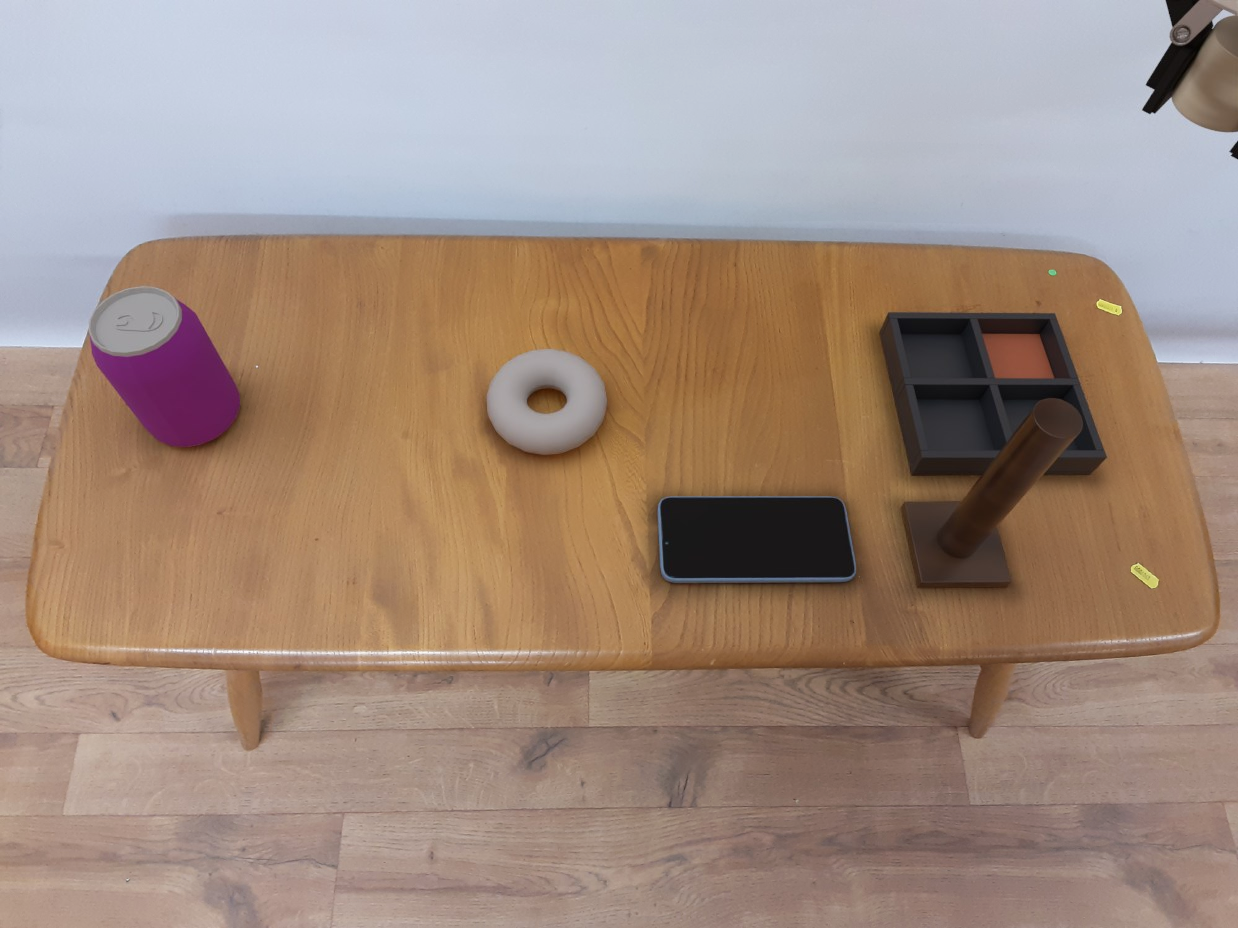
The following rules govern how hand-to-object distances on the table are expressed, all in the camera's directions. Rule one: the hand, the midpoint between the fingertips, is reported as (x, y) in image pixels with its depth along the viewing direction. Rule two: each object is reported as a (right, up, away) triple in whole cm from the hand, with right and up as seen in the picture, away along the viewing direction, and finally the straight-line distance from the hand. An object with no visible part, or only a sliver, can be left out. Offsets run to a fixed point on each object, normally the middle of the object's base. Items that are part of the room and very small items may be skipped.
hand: (1201, 121), depth 51 cm
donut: (-40, -15, +24) cm, 49 cm away
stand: (-7, -26, +19) cm, 33 cm away
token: (0, +1, -1) cm, 1 cm away
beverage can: (-69, -16, +23) cm, 74 cm away
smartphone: (-23, -26, +18) cm, 39 cm away
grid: (-2, -14, +26) cm, 30 cm away
